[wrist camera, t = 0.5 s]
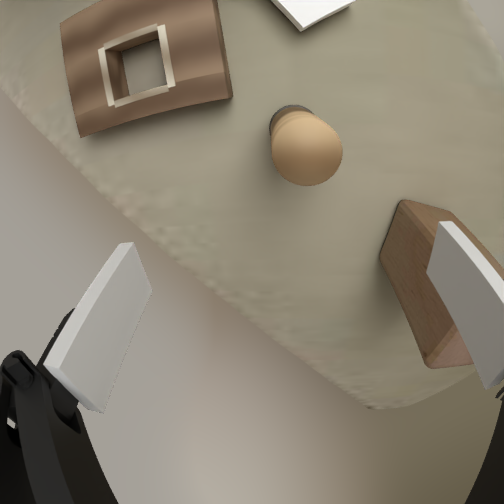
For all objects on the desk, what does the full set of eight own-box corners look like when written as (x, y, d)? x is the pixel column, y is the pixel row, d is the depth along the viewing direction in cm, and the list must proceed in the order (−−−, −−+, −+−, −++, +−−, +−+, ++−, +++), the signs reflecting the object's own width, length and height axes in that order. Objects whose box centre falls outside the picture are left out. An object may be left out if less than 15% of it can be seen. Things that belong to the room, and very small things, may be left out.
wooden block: (375, 257, 39) (423, 373, 22) (398, 195, 33) (480, 299, 17) (427, 265, 39) (482, 365, 23) (451, 209, 34) (532, 302, 17)
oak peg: (266, 104, 29) (265, 120, 17) (311, 101, 28) (341, 115, 16) (272, 146, 31) (274, 190, 20) (315, 142, 31) (344, 184, 19)
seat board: (77, 25, 22) (59, 23, 18) (212, -24, 19) (205, -36, 16) (97, 130, 30) (80, 138, 27) (233, 96, 28) (228, 98, 25)
